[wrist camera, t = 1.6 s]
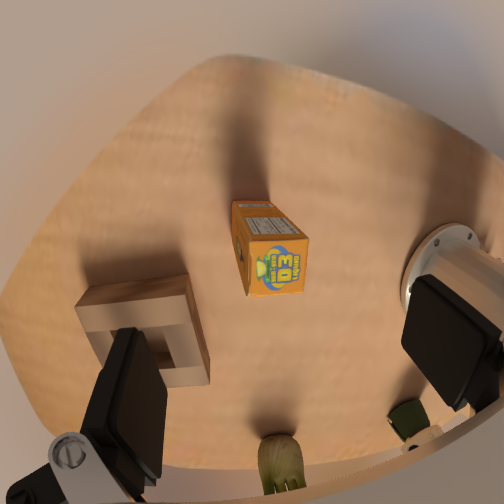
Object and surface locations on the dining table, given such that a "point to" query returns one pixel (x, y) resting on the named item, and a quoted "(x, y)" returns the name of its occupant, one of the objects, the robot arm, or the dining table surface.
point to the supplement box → (268, 249)
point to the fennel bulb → (280, 464)
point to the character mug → (413, 425)
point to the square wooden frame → (150, 324)
